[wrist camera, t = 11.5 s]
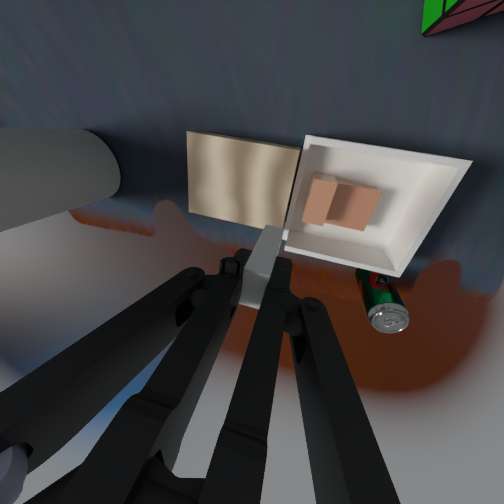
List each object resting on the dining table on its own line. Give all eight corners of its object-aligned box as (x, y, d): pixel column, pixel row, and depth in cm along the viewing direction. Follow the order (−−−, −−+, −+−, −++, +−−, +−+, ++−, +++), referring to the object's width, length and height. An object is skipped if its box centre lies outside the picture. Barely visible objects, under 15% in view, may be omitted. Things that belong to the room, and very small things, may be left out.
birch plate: (202, 203, 40) (188, 212, 36) (202, 131, 34) (186, 131, 30) (284, 221, 38) (281, 232, 34) (301, 147, 31) (299, 150, 27)
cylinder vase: (57, 154, 43) (-191, 176, 22) (85, 113, 37) (-214, 88, 16) (102, 207, 47) (-72, 269, 25) (134, 176, 41) (-56, 224, 20)
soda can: (349, 267, 39) (361, 315, 29) (377, 255, 37) (402, 302, 26) (362, 287, 40) (379, 339, 30) (390, 276, 38) (419, 329, 28)
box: (284, 231, 39) (279, 248, 33) (306, 134, 31) (305, 135, 25) (385, 253, 36) (399, 277, 30) (439, 155, 28) (472, 161, 22)
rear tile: (363, 231, 32) (359, 224, 34) (382, 192, 28) (376, 187, 31) (323, 222, 32) (322, 215, 35) (337, 183, 29) (335, 179, 32)
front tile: (301, 221, 30) (322, 226, 30) (314, 178, 27) (337, 183, 27) (303, 208, 35) (321, 212, 35) (314, 171, 32) (334, 175, 32)
